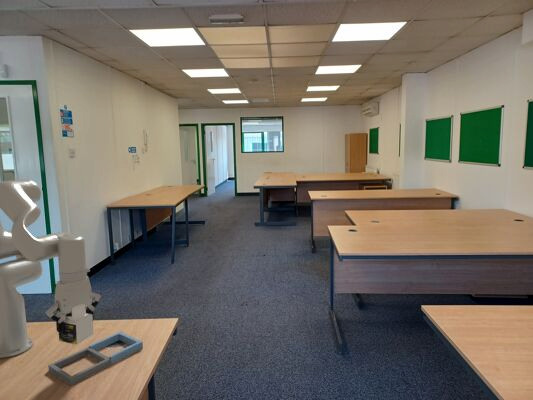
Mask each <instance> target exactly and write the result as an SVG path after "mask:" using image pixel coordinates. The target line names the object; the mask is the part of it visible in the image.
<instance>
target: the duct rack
mask: <svg viewBox="0 0 533 400" xmlns="http://www.w3.org/2000/svg"><path fill="white" fill-rule="evenodd" d="M118 341H121V342H123V343H125V344H127V345H128V346H126V347H124V348H123V349H121V350H119V351H116V352H114V353H112V354H111V355H109V356H108V355H105V354H103V353H101V352H100V351H99V350H101V349H104V348H105V347H107V346H110V345H112V344H114V343H116V342H118ZM143 343H144V342H143V341H142V340H140V339H137V338H135V337H133V336H131V335H128V334H126V333H124V332H121V331H118V332H116V333H113V334H112V335H109V336H107V337H105V338H102V339H100V340H98V341H96V342H94V343H91V344H89V345H88V347H86V348H84V349H81V350H79V351H77V352H75V353H73V354H70V355H68V356H65V357H63V358H61V359H58V360H57V361H54V362H53V363H50V364H48V367H47V368H48V372H50V373H51V374H52V375H54V376H56V377H57V378H58V379H60V380H62V381H63V382H64V383H66V384H67V385H69V386H72V385H75V384H76V383H78V382H80V381H82V380H84V379H86V378H89V377H90V376H92V375H94V374H96V373H98V372H99V371H101V370H103V369H105V368H107V367H109V366H111V365H113V364H115V363H117V362H119V361H121V360H122V359H125V358H126V357H128V356H131V355H132V354H134V353H137V352H138V351H140V350H142V349H143V348H144V347H143ZM86 356H89V357H91V358H92V359H95V360H96V361H98V363H95V364H93V365H91V366H89V367H87V368H85V369H83V370H81V371H79V372H77V373H75V374H73V375H71V374H69V373H68V372H66V371H64V370H63V369H62V367H65V366H68V365H70V364H72V363H73V362H76V361H78V360H80V359H83V358H84V357H86Z"/></svg>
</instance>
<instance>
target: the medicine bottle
mask: <svg viewBox="0 0 533 400" xmlns="http://www.w3.org/2000/svg"><path fill="white" fill-rule="evenodd" d="M86 310H87V308H85V304H80V305H77V306H75V307H73V308H72V310H71V313H69V314H66V316H65V318H64V319H63V322H64V323H65V334H63V335H62V334H60V333H59V332H58V341H59V342H61V343H66V344H70V345H74V346H78V345H79V344H81V343H82V342H84V341H85V340H87V339H88V338H90V337H92V336H93V335H94V319H93V316H92V314H87V313H86Z"/></svg>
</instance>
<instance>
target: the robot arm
mask: <svg viewBox="0 0 533 400" xmlns="http://www.w3.org/2000/svg"><path fill="white" fill-rule="evenodd" d="M41 196H42V191H41V187H40V186H39V185H38V183H37V182H35V181H34V180H32V179H15V180H11V179H10V180H4V181H3V180H2V181H0V209H1V210H2V212H3V213H4V214H5V215H6V216H7V217H8V218H9V220H11V222H12V227H11V230H10V229H9V230H5V229H4V227H3V225H2V223H1V221H0V261H1V260H4V259H9V258H12V257H16V258H15V259H12V260H8V261H5V262H4V261H3V262H0V359H5V358H10V357H11V358H12V357H14V356H17V355H20V354H23V353H25V352H26V351H29V349H31V348H32V346H33V345H34V339H32V338H31V337H28V328H27V327H28V326H27V318H26V317H27V316H26V306H25V305H26V304H25V299H24V296H23V294H21V293H20V292H19V291H18V290H17V289H16V288H18V287H20V286H23V285H26V284H29V283H31V282H34V281H37V280H39V279H40V277H41V276H42V275H43V274H42V273H43V266H42V263H41V262H43V261H47V260H50V259H53V258H57V260H58V276H59V280H58V281H56V284H55V291H54V303H53V305H51V306H50V307H49V308H48V309H47V310H46V311H45V313H44V314H46V315H47V316H48V317H49V319H51V320H53V321H54V322H55V324H56V326H55V327H56V332H57V333H58V334H59V333H60V334H62V335H63V334H65V323H64V322H63V319H64V318H65V316H66V314H69V313H71V310H72V308H73V307H75V306H77V305H80V304H85V308H86V313H87V314H92V316H93V320H94V317H95V315H94V312H95V310H96V307H97V306H98V305H99V301H100V299H101V298H102V297H101V294H98V293H96V292H93V290H92V285H91V282H90V278H89V276H88V273H89V272H91V268H90V267H87V261H86V259H87V257H86V242H85V241H86V240H85V238H84V237H83V236H81V235H72V234H70V233H68V232H65V231H60V232H56V233H55V232H54V233H49V234H45V235H40V236H36V237H34V236H33V235H32V234H31V233H30V231H28V229H27V228H28V227H30V226H31V225H33V224H34V223H35V222H36V221H37V220H38V219H39V218H40V216H41V208H40V207H39V206H38V205H37V204H36V202H38V201H39V200H40V198H41ZM55 312H57V313H56V315H55Z"/></svg>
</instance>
